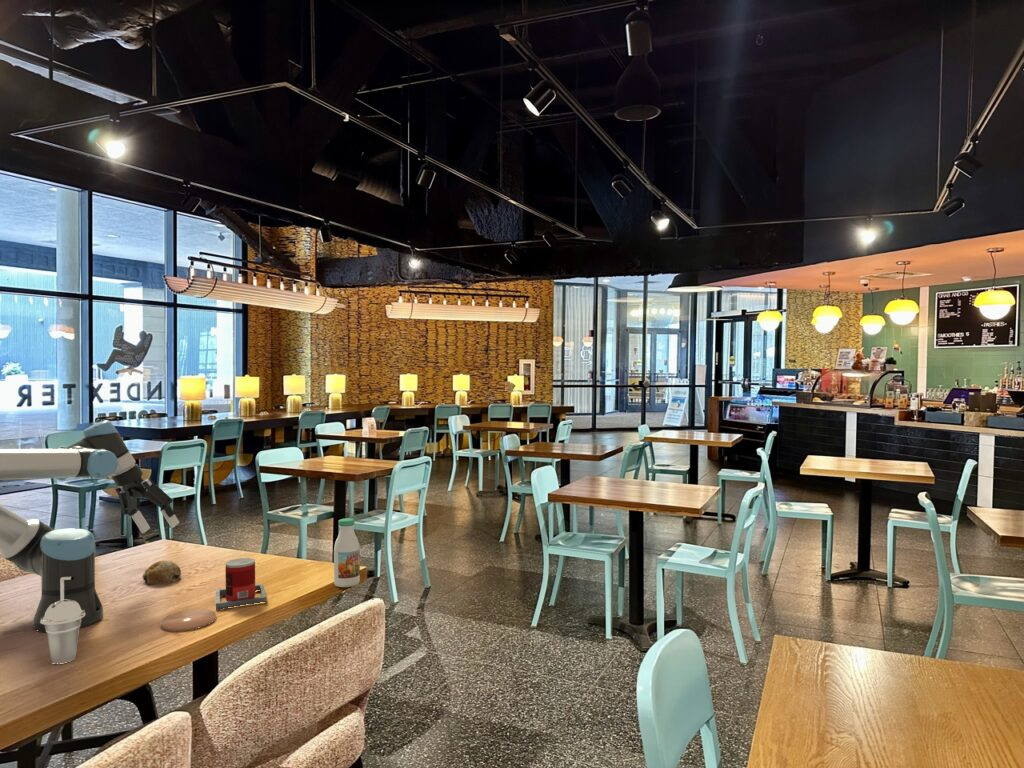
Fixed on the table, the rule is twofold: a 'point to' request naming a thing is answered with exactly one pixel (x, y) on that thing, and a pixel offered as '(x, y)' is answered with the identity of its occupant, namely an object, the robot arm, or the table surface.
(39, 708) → the table surface
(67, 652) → the cup with straw
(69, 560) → the robot arm
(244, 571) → the canned food
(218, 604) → the square metal frame
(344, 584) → the milk bottle
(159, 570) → the bread roll
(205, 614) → the terracotta plate
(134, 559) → the table surface
